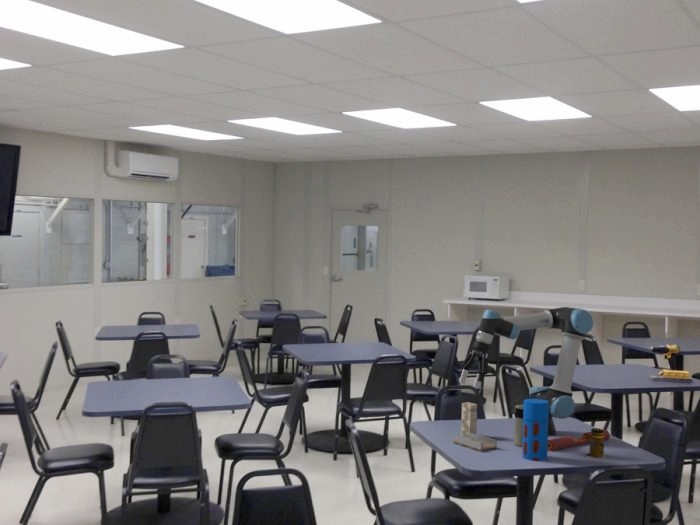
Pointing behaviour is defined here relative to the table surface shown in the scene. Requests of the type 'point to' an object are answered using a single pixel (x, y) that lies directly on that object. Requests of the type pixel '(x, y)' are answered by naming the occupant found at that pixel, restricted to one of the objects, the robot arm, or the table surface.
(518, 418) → the travel mug
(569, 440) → the blood vessel
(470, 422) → the pale wooden block
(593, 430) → the condiment
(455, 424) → the table surface
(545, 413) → the thermos
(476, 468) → the table surface
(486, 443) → the floor track
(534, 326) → the robot arm
